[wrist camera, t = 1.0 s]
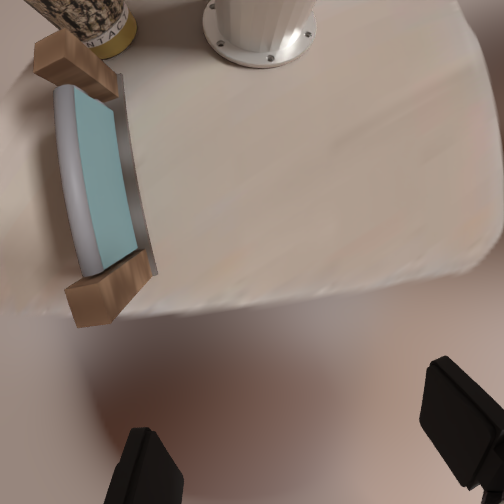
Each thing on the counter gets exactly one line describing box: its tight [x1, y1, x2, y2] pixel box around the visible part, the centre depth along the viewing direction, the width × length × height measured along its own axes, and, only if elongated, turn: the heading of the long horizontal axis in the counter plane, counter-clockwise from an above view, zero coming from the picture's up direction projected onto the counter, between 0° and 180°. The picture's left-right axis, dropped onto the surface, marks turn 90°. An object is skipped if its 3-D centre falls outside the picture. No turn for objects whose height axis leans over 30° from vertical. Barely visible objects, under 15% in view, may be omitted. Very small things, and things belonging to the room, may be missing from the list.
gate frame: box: [33, 28, 158, 328], centre depth 24 cm, size 23×4×13 cm, turn 11°
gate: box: [53, 84, 138, 277], centre depth 24 cm, size 16×2×10 cm, turn 11°
